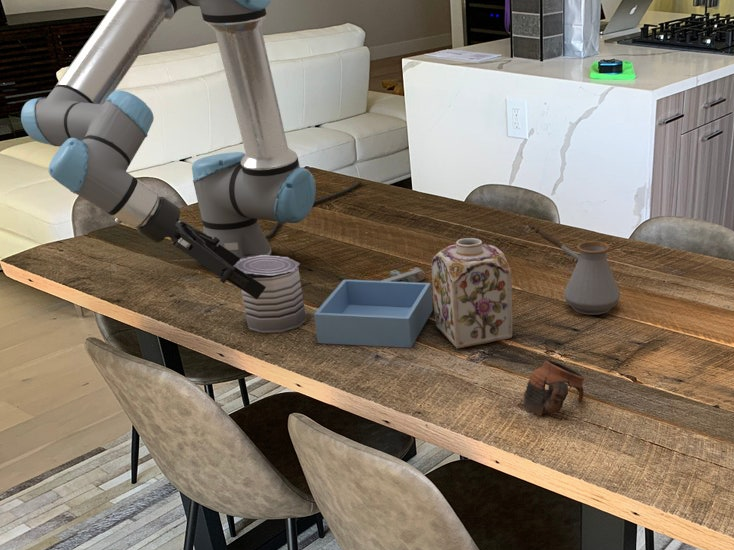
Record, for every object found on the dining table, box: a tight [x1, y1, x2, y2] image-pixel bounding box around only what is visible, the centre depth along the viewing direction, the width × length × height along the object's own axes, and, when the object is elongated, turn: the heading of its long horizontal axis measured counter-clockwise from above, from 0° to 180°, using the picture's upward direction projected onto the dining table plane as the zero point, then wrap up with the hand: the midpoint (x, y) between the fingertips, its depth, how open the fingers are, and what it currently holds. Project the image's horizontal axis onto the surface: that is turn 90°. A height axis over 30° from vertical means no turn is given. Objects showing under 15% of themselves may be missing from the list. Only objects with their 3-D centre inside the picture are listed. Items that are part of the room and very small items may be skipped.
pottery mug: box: [521, 359, 585, 417], centre depth 139 cm, size 12×10×8 cm
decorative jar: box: [430, 237, 514, 350], centre depth 161 cm, size 12×12×18 cm
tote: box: [313, 278, 434, 349], centre depth 166 cm, size 18×18×6 cm
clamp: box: [380, 266, 425, 283], centre depth 184 cm, size 15×2×10 cm
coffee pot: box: [524, 222, 621, 316], centre depth 175 cm, size 21×12×15 cm, turn 59°
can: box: [233, 255, 307, 334], centre depth 166 cm, size 11×11×12 cm
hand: (252, 280), depth 163 cm, fingers open, 13 cm apart
